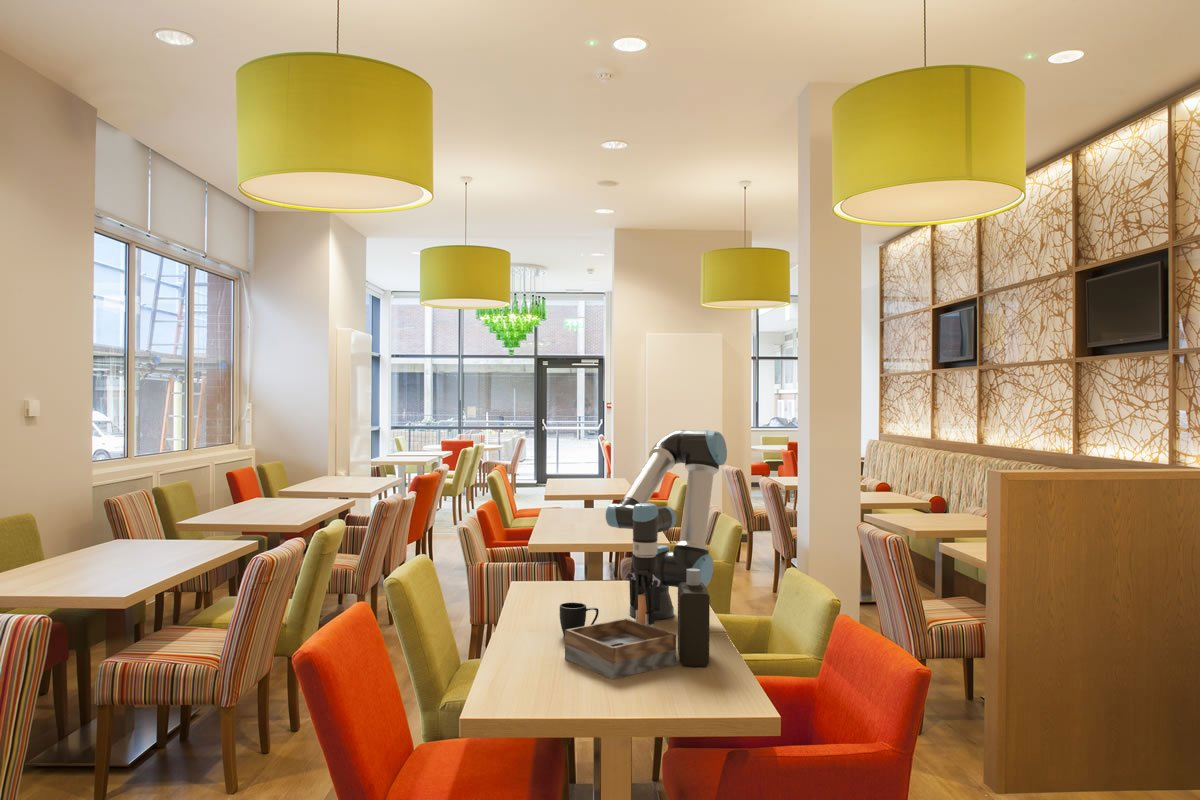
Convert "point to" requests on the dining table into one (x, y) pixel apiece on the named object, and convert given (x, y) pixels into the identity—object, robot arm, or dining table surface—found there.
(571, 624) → the mug
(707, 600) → the bottle
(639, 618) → the peg
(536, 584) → the dining table surface
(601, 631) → the crate
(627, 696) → the dining table surface
